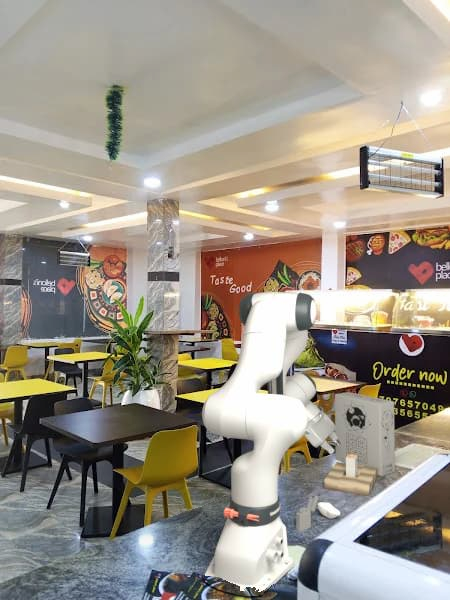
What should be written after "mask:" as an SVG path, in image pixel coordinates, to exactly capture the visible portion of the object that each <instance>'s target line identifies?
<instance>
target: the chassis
mask: <svg viewBox="0 0 450 600" xmlns="http://www.w3.org/2000/svg"><path fill="white" fill-rule="evenodd" d="M357 474H358V477H351V476H346V463H344V462H341V461H340V462H339V461H337V462H336V463H335V464H334V465H333V466H332V467H331V470H330V471H329V472H328V474H327V475H326V477H325V478H324V482H323V483H324V490H329V491H335V492H343V493H348V494H354V495H355V494H356V495H361V496H367V497H370V495H371V493H372V491H373V489H374V486H375V484H376V482H377V479H378V477H379V476H378V468H377V467H370V466H362V465H357Z"/></svg>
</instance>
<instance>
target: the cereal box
mask: <svg viewBox="0 0 450 600" xmlns="http://www.w3.org/2000/svg"><path fill="white" fill-rule="evenodd" d="M334 414H335V415H334V420H335V422H334V425H335V427H336V429H335V430H334V432H335V433H336V435H337V437H338V439H339V440H340V441H341V444H340V445H339V446H336V445H335V460H337V461H338V462H339V461H340V462H341V463H346V457H347V455H348V454H349V453H353V454H354V455H357V465H362V466H370V467H377V468H378V477H383V476H386V475H390V474H394V473H395V472H396V460H395V459H396V454H395V452H396V451H395V450H396V449H395V446H396V445H395V444H396V443H395V441H396V440H395V439H396V438H395V401H393V400H388V399H382V398H379V397H373V396H370V395H364V394H360V393H354V392H350V391H347V392H346V391H345V392H341V393H335V394H334Z"/></svg>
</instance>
